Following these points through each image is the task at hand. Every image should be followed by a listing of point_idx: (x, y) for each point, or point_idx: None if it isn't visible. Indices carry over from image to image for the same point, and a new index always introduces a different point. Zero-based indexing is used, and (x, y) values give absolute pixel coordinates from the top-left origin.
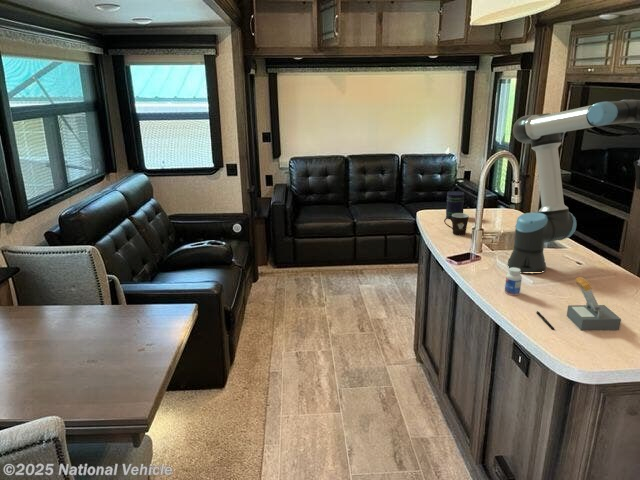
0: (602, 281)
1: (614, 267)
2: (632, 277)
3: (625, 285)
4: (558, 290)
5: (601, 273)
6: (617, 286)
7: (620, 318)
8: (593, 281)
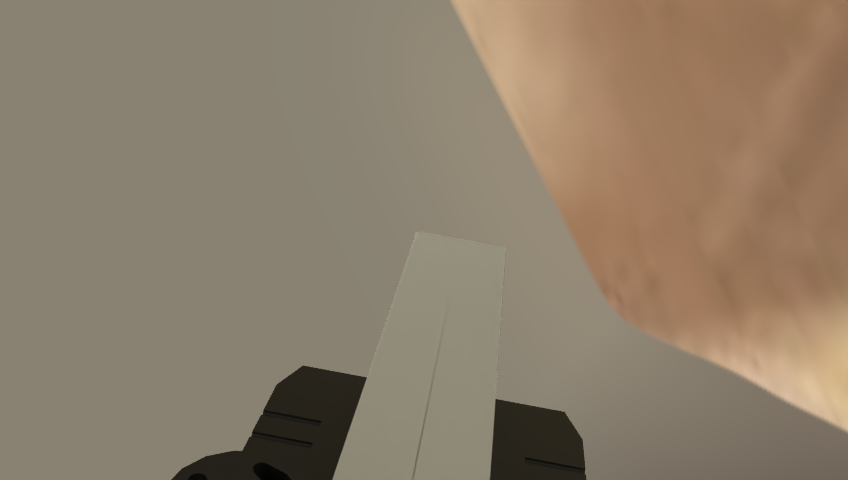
0: (724, 101)
1: (777, 386)
2: (624, 313)
3: (590, 158)
4: None
5: (793, 230)
6: (615, 100)
7: None
8: (769, 48)
